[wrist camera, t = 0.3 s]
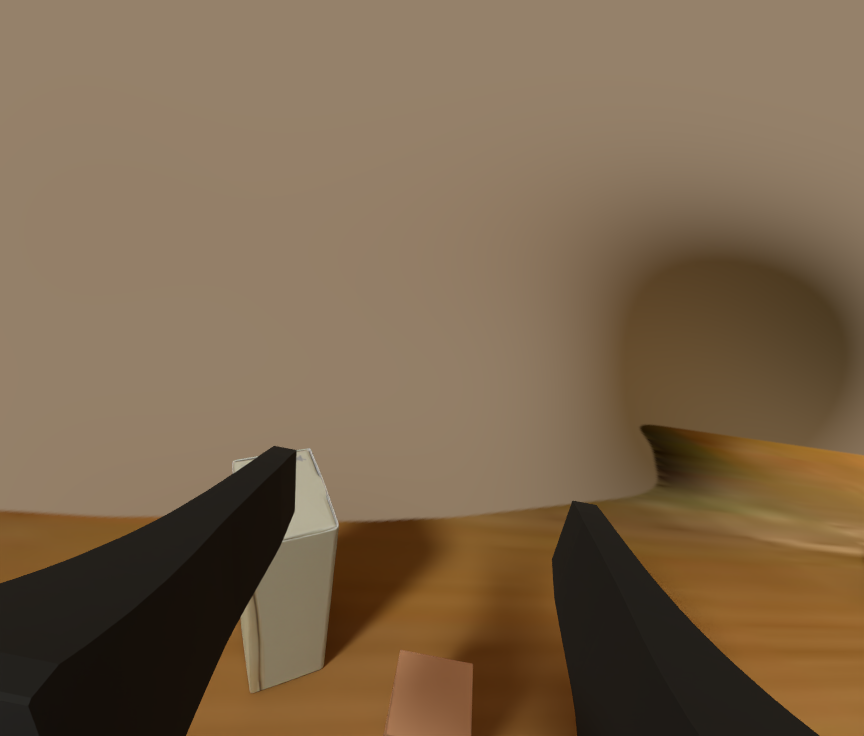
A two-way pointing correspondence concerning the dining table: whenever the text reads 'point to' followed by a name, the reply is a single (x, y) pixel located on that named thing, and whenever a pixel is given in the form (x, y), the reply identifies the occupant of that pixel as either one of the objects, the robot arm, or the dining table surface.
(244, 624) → the skincare box
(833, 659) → the dining table surface
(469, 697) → the rust peg
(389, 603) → the dining table surface
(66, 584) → the robot arm
